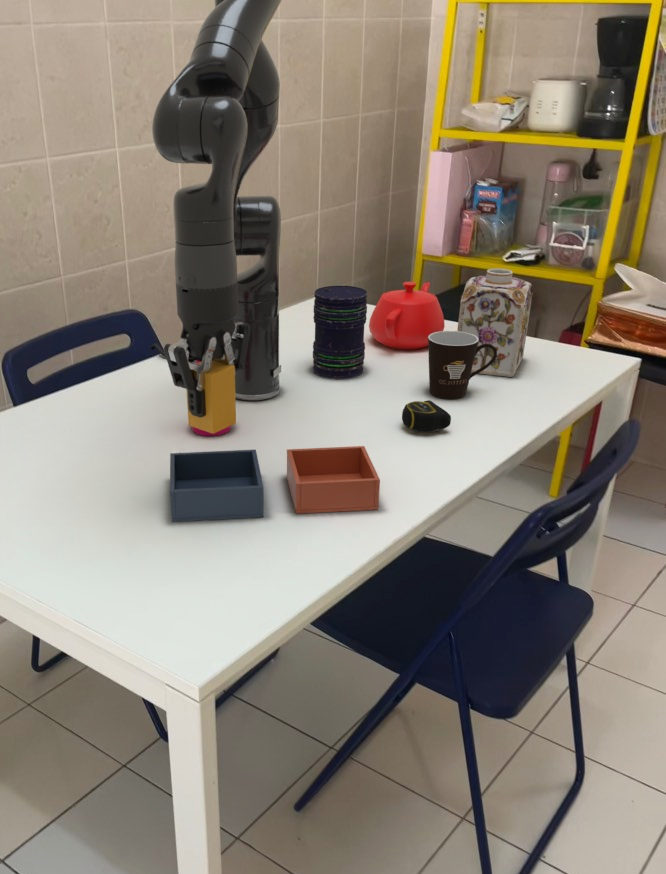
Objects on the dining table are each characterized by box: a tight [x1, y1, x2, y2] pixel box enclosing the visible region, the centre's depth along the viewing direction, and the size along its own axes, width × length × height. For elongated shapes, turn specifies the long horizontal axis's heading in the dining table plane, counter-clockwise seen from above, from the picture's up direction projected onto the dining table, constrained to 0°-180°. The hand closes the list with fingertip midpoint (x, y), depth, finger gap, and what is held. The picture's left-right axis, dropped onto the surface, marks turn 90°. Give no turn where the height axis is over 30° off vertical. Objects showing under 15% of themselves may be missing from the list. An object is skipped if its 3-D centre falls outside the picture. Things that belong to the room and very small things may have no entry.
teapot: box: [368, 281, 446, 350], centre depth 181 cm, size 25×16×12 cm, turn 153°
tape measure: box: [401, 399, 452, 433], centre depth 142 cm, size 7×7×4 cm
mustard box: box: [186, 361, 237, 434], centre depth 114 cm, size 4×4×8 cm
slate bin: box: [169, 449, 265, 523], centre depth 121 cm, size 12×12×4 cm
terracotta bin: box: [286, 445, 381, 515], centre depth 122 cm, size 11×11×4 cm
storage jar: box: [312, 285, 368, 380], centre depth 164 cm, size 10×10×15 cm
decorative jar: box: [456, 268, 534, 378], centre depth 165 cm, size 12×12×18 cm
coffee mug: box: [427, 330, 497, 400], centre depth 154 cm, size 12×9×10 cm
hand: (211, 409), depth 115 cm, fingers closed on mustard box, 4 cm apart
